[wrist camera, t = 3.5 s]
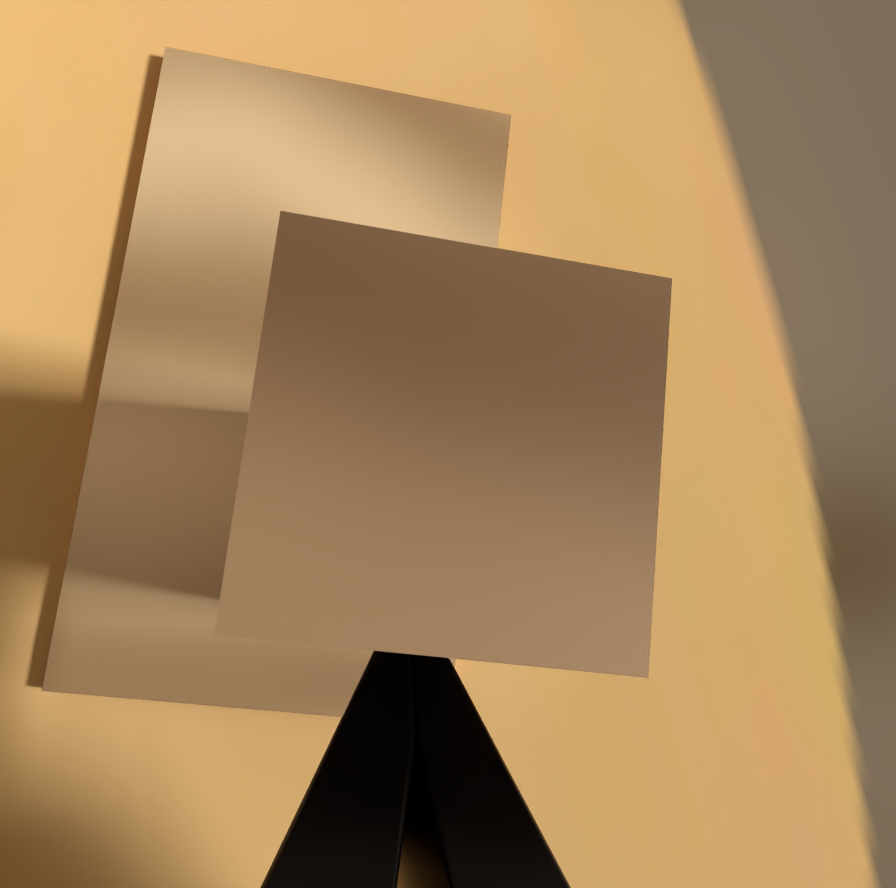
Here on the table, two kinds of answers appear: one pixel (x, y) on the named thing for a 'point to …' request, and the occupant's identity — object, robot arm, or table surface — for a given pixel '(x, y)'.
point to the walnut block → (450, 453)
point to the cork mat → (231, 360)
